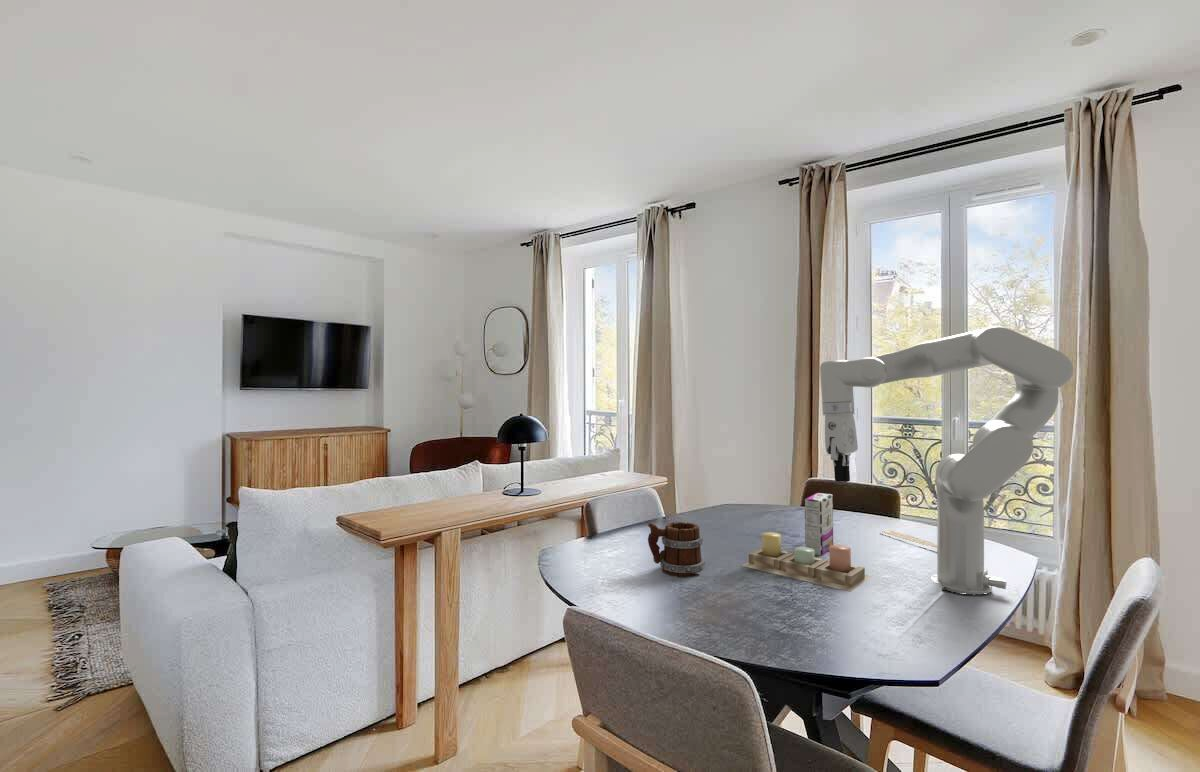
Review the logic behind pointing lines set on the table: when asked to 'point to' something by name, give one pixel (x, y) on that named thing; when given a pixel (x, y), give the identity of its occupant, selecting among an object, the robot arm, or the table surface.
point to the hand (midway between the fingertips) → (842, 481)
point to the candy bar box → (819, 522)
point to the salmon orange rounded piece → (840, 557)
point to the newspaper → (909, 538)
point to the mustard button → (771, 544)
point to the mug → (677, 548)
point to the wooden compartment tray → (807, 570)
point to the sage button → (804, 555)
